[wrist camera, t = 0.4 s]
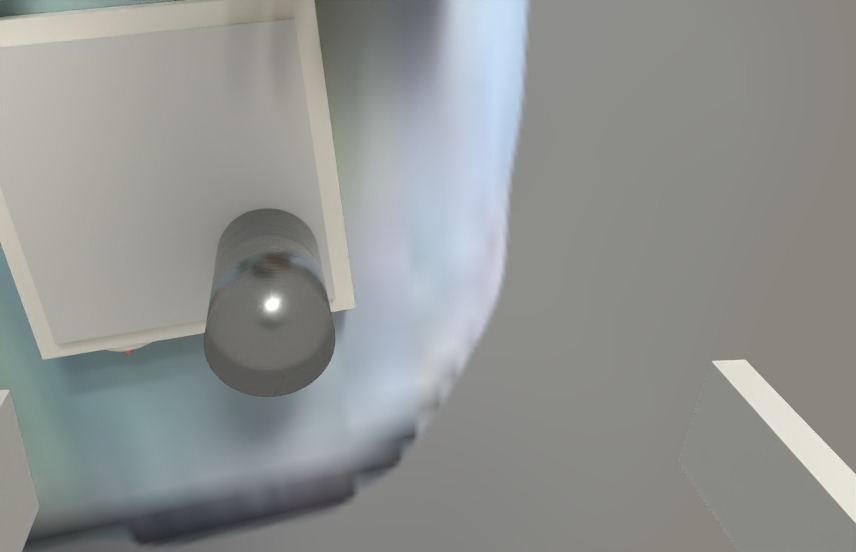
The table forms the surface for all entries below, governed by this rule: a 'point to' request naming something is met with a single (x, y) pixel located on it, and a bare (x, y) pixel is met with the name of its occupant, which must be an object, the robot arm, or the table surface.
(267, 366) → the cylinder
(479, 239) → the table surface
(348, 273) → the scale
